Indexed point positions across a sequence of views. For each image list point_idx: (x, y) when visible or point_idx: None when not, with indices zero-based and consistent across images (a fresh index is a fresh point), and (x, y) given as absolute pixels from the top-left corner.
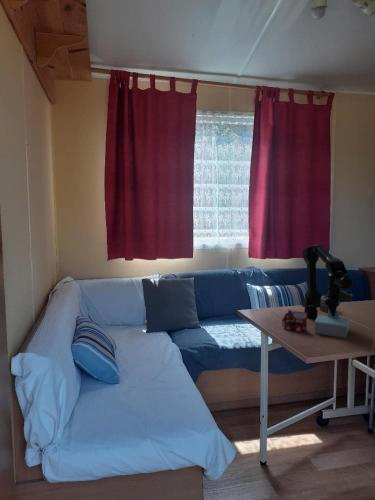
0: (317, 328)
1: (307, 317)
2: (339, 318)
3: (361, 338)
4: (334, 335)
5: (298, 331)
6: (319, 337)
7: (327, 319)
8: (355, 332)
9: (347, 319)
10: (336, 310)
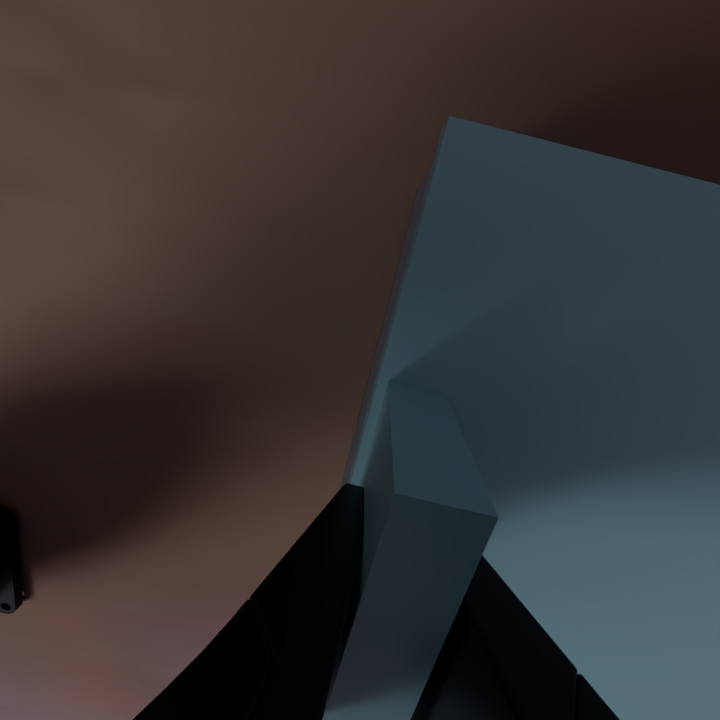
0: None
1: (2, 583)
2: (472, 380)
3: (709, 21)
4: None
5: None
6: None
7: (586, 609)
8: (407, 71)
9: (546, 185)
10: (376, 576)
